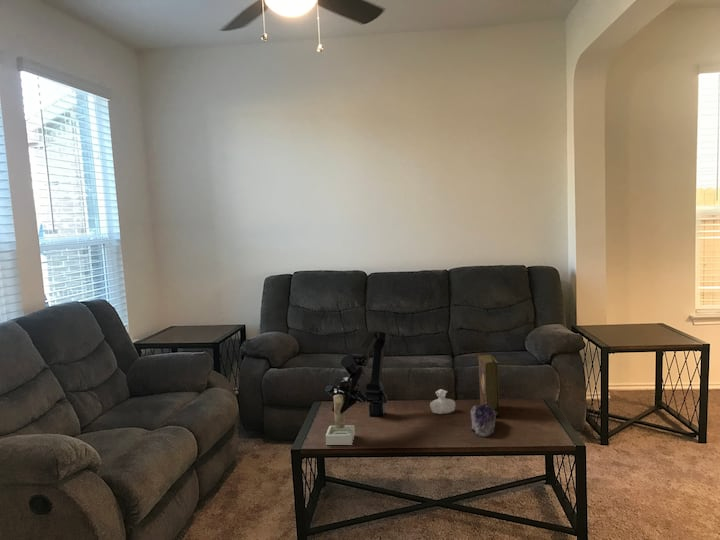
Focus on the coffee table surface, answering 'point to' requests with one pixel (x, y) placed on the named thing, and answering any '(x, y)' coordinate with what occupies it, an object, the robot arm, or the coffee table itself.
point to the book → (489, 382)
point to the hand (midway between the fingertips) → (336, 412)
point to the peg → (338, 411)
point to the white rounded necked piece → (442, 403)
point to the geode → (483, 420)
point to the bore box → (340, 435)
